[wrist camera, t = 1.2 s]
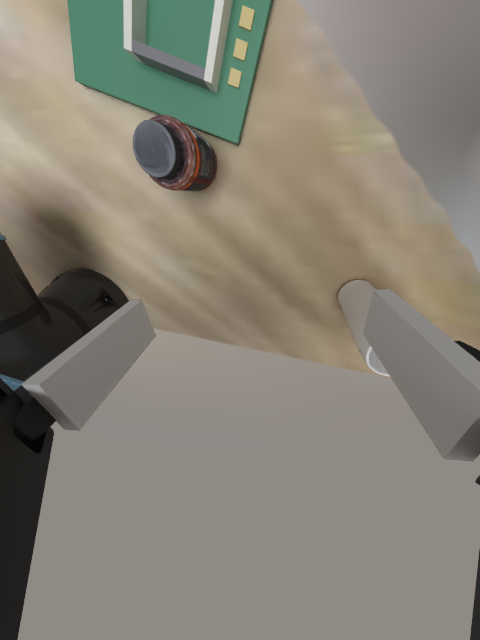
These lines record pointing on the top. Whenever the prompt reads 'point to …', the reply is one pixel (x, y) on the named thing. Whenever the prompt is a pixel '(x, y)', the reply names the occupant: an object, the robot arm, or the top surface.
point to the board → (173, 56)
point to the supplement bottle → (174, 154)
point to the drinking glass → (360, 319)
